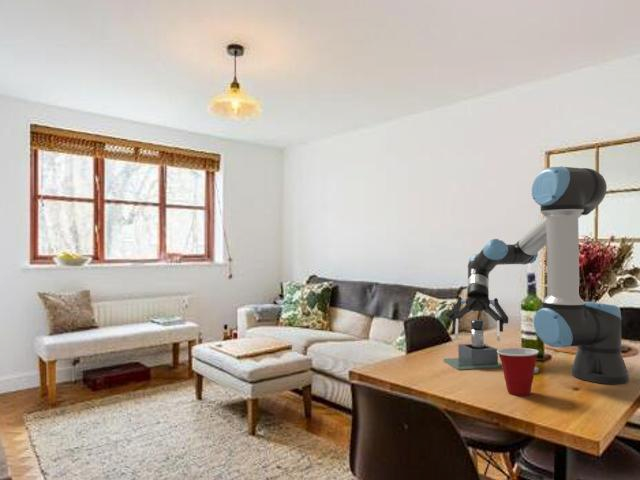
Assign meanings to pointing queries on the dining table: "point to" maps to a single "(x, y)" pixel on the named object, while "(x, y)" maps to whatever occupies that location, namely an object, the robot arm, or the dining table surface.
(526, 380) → the plastic cup
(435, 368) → the dining table surface
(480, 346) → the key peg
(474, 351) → the block
